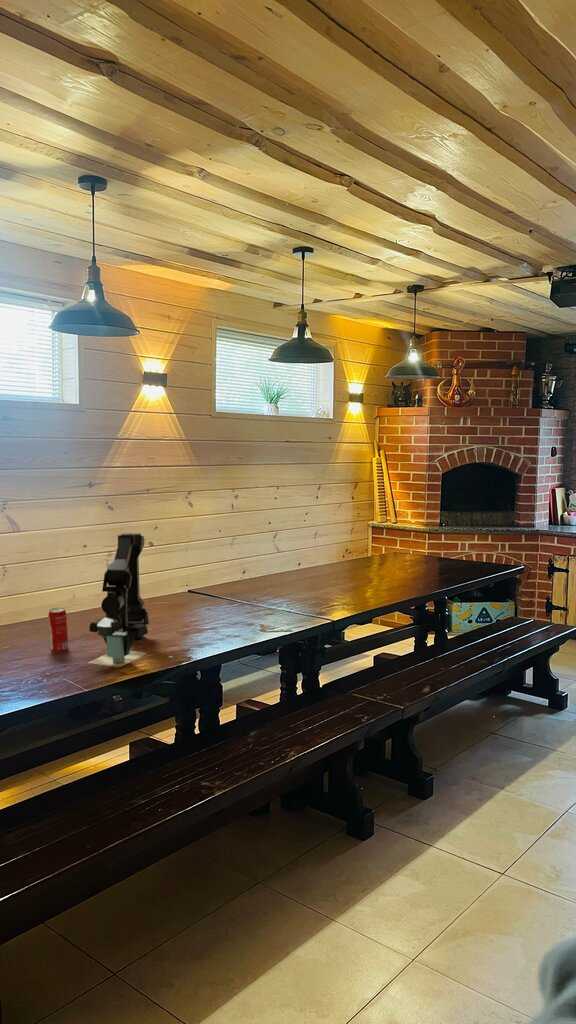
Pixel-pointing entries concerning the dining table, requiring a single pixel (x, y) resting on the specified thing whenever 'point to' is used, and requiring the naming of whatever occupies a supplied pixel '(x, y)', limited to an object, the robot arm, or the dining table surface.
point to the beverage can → (58, 630)
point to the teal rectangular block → (116, 645)
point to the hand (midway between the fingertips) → (118, 654)
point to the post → (118, 660)
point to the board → (109, 662)
